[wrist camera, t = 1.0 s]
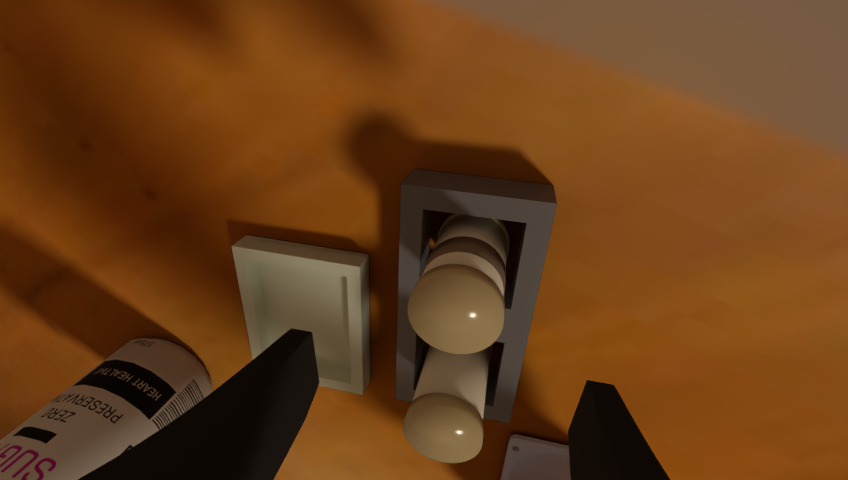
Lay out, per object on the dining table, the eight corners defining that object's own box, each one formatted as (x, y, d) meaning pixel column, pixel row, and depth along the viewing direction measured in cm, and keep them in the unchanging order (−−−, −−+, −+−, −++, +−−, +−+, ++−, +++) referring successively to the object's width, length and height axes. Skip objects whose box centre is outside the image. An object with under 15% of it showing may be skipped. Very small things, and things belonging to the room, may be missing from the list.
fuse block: (510, 391, 26) (509, 423, 24) (405, 369, 27) (395, 398, 25) (553, 184, 20) (556, 203, 18) (413, 168, 21) (400, 184, 19)
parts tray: (370, 378, 29) (363, 395, 27) (266, 356, 30) (254, 371, 29) (368, 254, 24) (359, 266, 23) (246, 235, 25) (231, 245, 24)
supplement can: (175, 416, 36) (-24, 633, 23) (110, 346, 34) (-155, 544, 21) (237, 398, 33) (47, 636, 20) (170, 319, 31) (-97, 532, 17)
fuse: (488, 367, 26) (477, 470, 20) (430, 356, 26) (401, 452, 20) (496, 319, 24) (487, 416, 18) (434, 308, 25) (403, 398, 19)
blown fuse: (504, 273, 23) (496, 361, 16) (437, 263, 23) (406, 344, 17) (515, 210, 21) (510, 283, 15) (442, 201, 22) (409, 267, 15)
